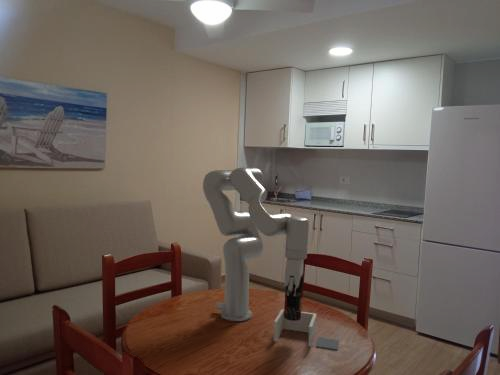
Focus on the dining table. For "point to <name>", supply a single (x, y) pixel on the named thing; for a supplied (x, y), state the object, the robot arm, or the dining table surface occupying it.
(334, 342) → the coaster
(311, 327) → the u-shaped bracket
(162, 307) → the dining table surface
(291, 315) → the deodorant
